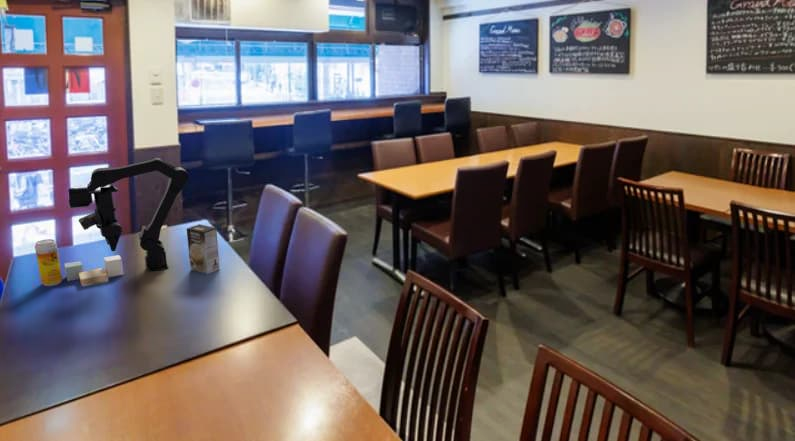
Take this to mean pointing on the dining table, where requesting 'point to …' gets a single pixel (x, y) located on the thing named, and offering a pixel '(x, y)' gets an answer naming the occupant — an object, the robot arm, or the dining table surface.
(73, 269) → the teal grey cube
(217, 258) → the coffee box
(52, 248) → the beer can
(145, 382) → the dining table surface
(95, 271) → the beech slab
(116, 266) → the white block
